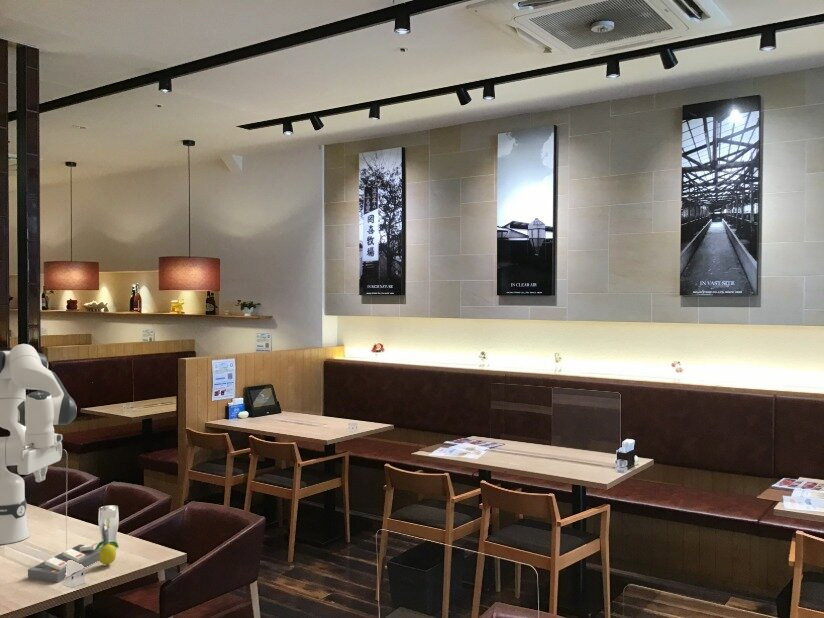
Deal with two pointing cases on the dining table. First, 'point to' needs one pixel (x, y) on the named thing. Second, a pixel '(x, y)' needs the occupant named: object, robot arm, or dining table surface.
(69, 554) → the rocker
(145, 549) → the dining table surface
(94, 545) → the rocker
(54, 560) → the rocker
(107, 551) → the lemon
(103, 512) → the beer glass
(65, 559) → the power strip
